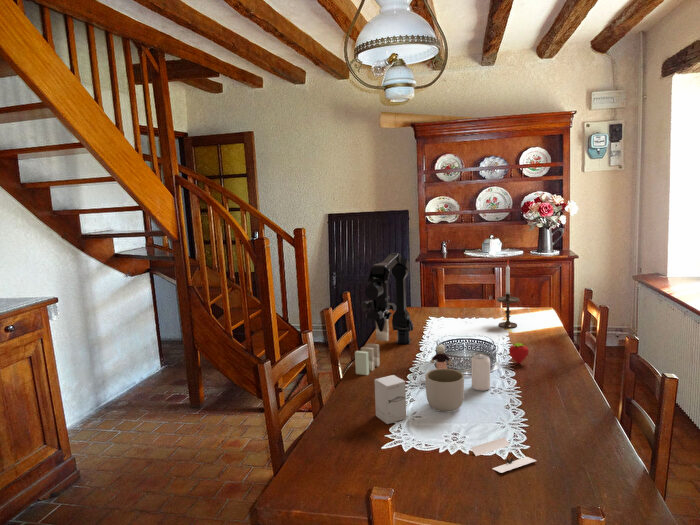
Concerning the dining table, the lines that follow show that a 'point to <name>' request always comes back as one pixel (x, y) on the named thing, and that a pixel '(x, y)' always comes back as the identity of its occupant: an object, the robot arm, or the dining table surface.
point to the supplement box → (390, 399)
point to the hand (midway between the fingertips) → (382, 330)
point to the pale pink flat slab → (497, 445)
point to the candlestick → (507, 301)
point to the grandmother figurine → (441, 358)
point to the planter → (445, 389)
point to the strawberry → (518, 352)
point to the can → (480, 372)
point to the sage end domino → (362, 362)
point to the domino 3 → (383, 332)
